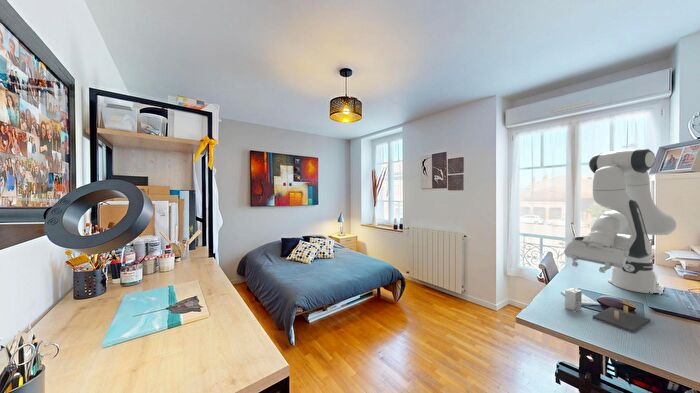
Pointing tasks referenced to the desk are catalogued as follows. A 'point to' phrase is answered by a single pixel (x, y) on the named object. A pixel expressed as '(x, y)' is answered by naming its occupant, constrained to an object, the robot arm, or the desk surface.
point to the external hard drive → (585, 300)
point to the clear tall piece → (573, 299)
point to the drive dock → (622, 319)
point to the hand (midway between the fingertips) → (587, 268)
